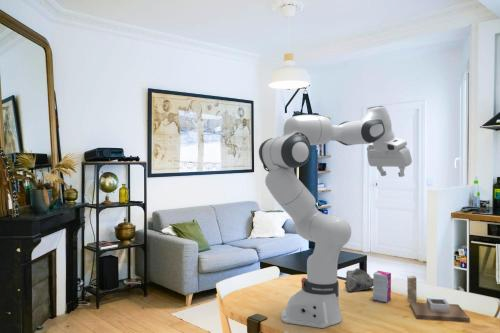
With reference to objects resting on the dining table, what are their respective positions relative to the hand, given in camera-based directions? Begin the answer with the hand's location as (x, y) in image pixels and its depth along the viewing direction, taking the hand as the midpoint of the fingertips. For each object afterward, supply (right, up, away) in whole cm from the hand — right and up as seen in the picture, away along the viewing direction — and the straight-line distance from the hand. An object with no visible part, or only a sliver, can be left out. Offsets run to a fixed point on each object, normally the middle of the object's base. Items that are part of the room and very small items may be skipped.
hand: (392, 175), depth 170 cm
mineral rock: (-9, -52, +15) cm, 55 cm away
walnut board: (+12, -52, -14) cm, 55 cm away
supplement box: (-4, -52, +2) cm, 52 cm away
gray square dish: (+12, -50, -14) cm, 54 cm away
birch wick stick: (+8, -52, 0) cm, 52 cm away
